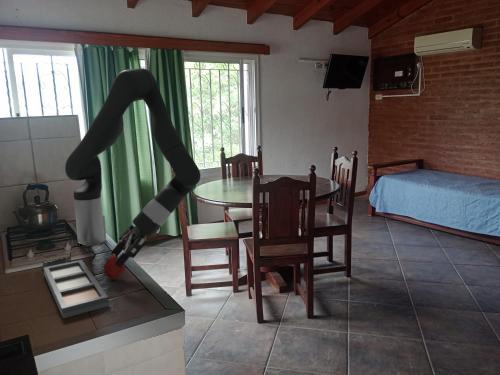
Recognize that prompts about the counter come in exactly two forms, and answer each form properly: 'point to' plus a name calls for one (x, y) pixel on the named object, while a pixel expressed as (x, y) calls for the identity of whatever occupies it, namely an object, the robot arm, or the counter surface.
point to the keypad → (74, 287)
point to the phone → (56, 262)
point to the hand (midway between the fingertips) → (114, 260)
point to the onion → (113, 268)
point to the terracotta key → (80, 296)
